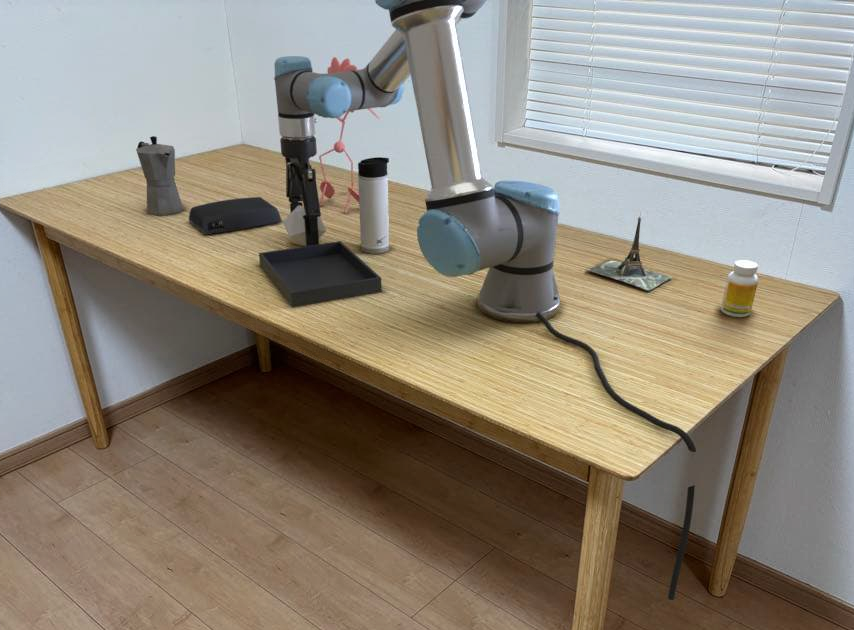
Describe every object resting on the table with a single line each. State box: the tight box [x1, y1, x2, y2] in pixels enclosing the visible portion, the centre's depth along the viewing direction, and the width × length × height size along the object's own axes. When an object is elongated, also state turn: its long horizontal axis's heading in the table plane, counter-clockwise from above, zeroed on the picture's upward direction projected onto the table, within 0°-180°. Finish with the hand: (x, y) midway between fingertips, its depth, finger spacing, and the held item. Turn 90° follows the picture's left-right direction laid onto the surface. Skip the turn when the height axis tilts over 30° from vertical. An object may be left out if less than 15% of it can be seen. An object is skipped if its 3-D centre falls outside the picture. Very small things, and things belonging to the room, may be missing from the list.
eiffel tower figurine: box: [587, 211, 674, 292], centre depth 162 cm, size 15×10×13 cm
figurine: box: [318, 56, 380, 219], centre depth 198 cm, size 15×26×35 cm, turn 50°
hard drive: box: [188, 196, 283, 235], centre depth 192 cm, size 13×19×4 cm
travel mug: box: [357, 156, 390, 255], centre depth 173 cm, size 6×7×20 cm
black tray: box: [258, 240, 383, 308], centre depth 162 cm, size 23×18×3 cm
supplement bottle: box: [720, 259, 759, 318], centre depth 148 cm, size 5×5×10 cm
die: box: [282, 205, 327, 247], centre depth 179 cm, size 8×9×10 cm
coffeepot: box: [135, 135, 184, 216], centre depth 197 cm, size 15×9×18 cm, turn 44°
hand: (305, 238), depth 180 cm, fingers closed on die, 10 cm apart
